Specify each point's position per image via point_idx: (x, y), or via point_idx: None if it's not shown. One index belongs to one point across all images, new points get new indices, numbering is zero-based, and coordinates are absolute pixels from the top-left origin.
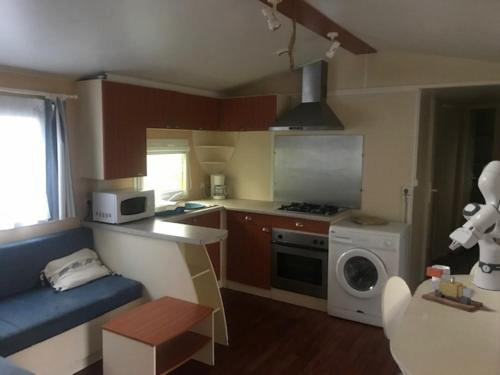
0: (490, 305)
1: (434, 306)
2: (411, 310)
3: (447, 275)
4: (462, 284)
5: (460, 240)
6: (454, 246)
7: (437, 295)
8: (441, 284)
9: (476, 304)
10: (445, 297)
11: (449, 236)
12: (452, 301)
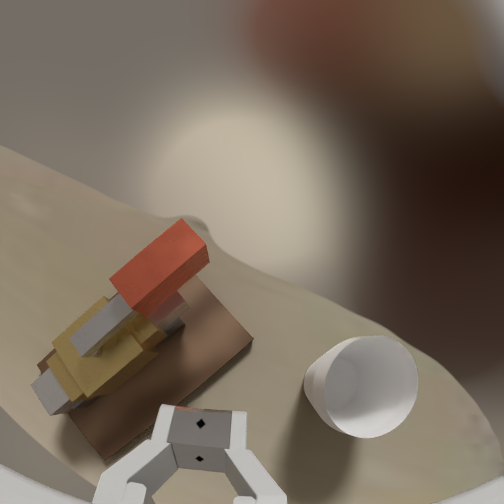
0: None
1: (87, 265)
2: (63, 181)
3: (97, 320)
4: (86, 393)
5: (3, 494)
6: (149, 450)
7: None
8: None
9: (82, 423)
10: None
11: (501, 476)
12: None
